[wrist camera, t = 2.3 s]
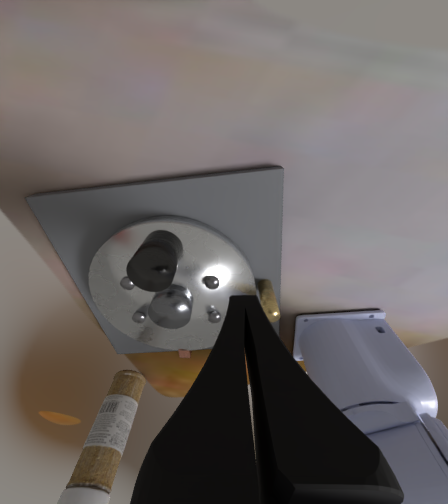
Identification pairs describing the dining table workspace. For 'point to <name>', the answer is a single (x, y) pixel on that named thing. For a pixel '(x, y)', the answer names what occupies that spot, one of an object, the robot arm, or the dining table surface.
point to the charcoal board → (167, 204)
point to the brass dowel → (268, 300)
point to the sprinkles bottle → (105, 442)
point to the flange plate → (187, 274)
